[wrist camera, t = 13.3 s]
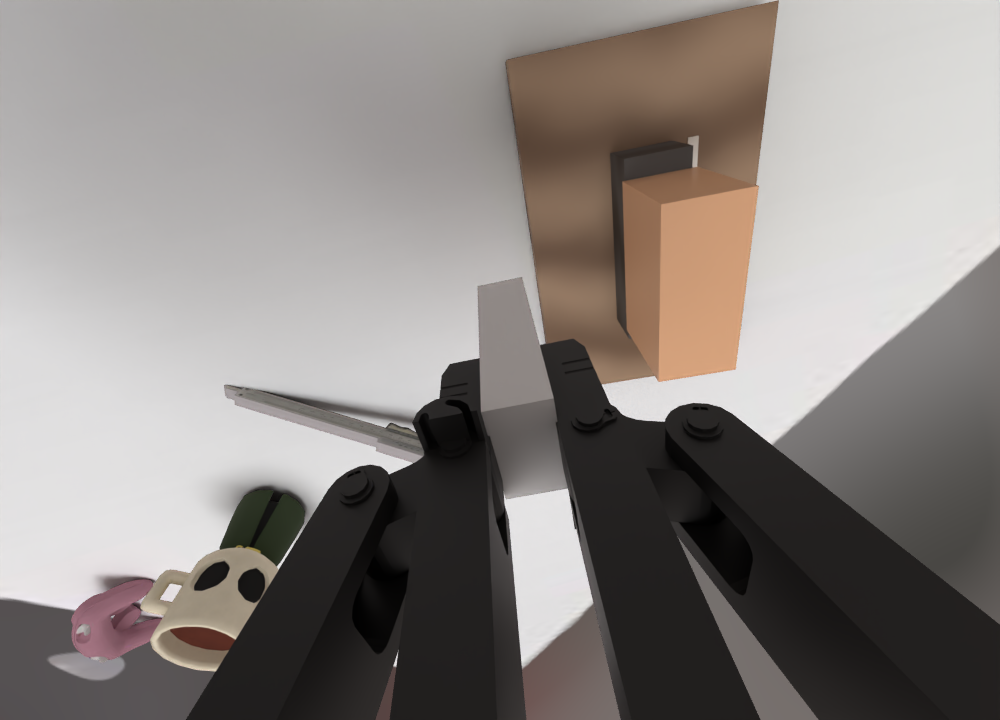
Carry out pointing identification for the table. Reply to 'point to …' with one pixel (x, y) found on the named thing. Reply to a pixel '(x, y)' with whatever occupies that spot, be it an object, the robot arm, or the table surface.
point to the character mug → (224, 583)
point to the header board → (617, 118)
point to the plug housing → (687, 268)
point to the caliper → (332, 423)
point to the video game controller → (112, 622)
